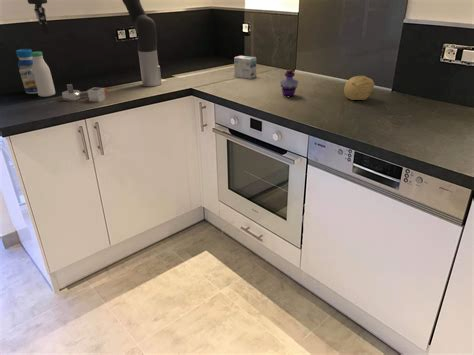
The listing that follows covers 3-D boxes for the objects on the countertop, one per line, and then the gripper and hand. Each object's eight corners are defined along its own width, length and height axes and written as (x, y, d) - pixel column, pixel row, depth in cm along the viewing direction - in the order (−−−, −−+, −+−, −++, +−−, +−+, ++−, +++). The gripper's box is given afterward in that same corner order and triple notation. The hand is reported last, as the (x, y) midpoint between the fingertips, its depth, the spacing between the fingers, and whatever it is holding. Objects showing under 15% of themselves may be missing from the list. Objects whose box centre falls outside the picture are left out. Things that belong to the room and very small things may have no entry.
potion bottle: (287, 92, 186) (288, 67, 180) (301, 95, 181) (303, 69, 175) (275, 95, 181) (276, 70, 175) (290, 99, 175) (291, 73, 169)
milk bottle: (59, 93, 187) (49, 51, 177) (47, 97, 180) (36, 54, 171) (46, 91, 189) (36, 50, 179) (34, 96, 183) (23, 53, 173)
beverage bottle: (47, 90, 191) (37, 49, 182) (33, 94, 185) (22, 52, 175) (35, 88, 194) (25, 47, 185) (21, 92, 188) (9, 50, 178)
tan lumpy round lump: (356, 104, 168) (359, 80, 163) (338, 97, 177) (341, 74, 172) (375, 100, 173) (379, 77, 167) (356, 94, 182) (360, 71, 177)
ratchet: (105, 91, 188) (103, 78, 185) (109, 95, 182) (106, 82, 179) (62, 97, 180) (59, 83, 177) (64, 102, 174) (61, 88, 171)
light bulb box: (256, 76, 213) (256, 56, 208) (250, 79, 208) (250, 59, 203) (240, 74, 218) (240, 55, 213) (234, 76, 213) (233, 57, 208)
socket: (96, 97, 179) (94, 87, 177) (105, 98, 178) (103, 88, 176) (89, 101, 175) (87, 90, 173) (99, 101, 174) (97, 91, 171)
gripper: (46, -9, 155) (55, 33, 163) (43, -10, 166) (52, 29, 174) (26, -8, 152) (36, 34, 160) (24, -10, 163) (34, 30, 171)
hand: (44, 32), depth 167 cm, fingers open, 8 cm apart
